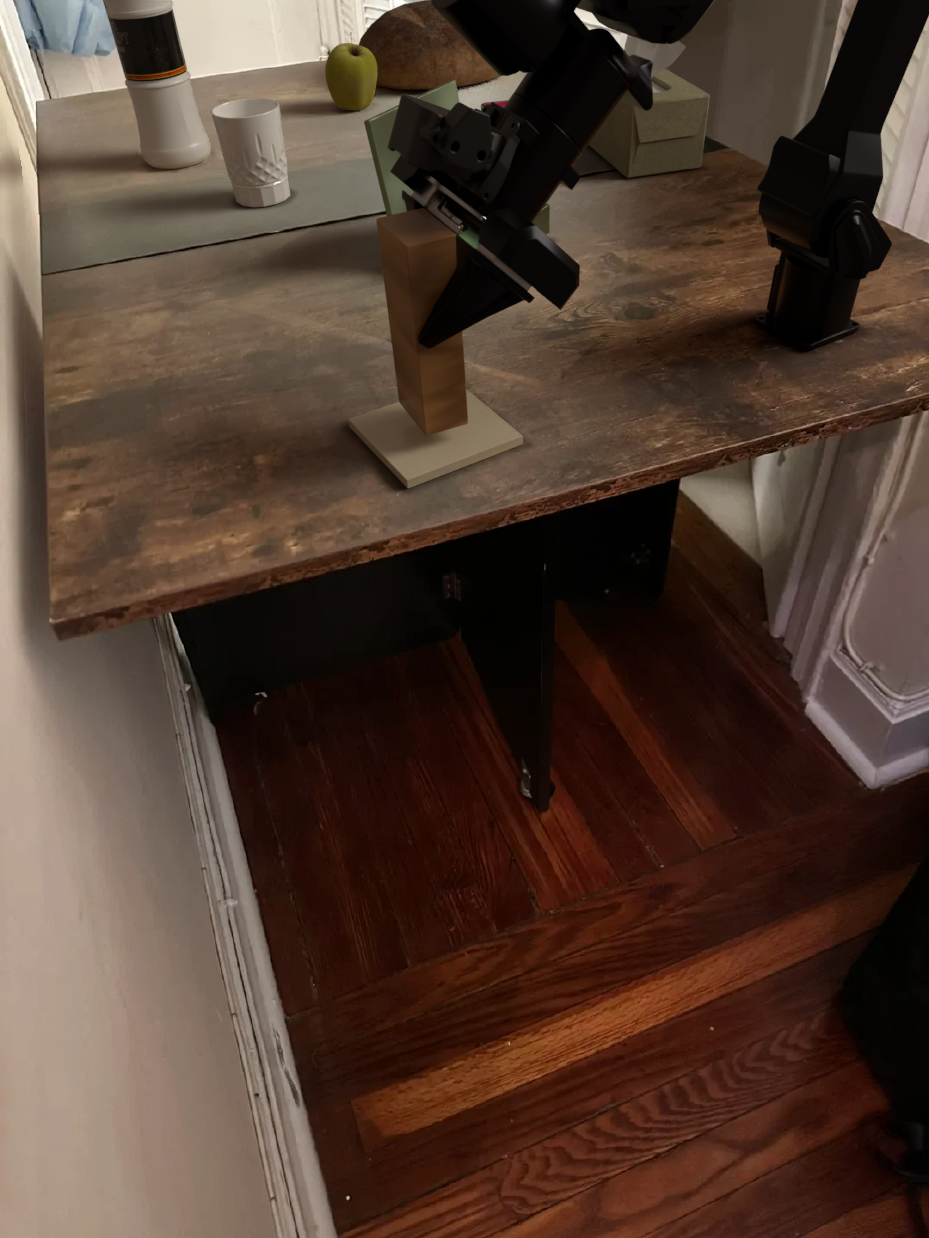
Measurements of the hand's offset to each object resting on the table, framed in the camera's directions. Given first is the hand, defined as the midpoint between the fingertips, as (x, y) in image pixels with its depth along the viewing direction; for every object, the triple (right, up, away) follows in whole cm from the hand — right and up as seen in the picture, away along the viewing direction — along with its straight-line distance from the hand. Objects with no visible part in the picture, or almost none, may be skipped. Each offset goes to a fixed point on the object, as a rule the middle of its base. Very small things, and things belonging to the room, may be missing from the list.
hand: (406, 327), depth 62 cm
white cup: (-21, +32, +47) cm, 60 cm away
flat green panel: (0, +26, +26) cm, 37 cm away
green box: (+5, +17, +30) cm, 35 cm away
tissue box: (+26, +40, +52) cm, 71 cm away
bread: (-1, +71, +85) cm, 111 cm away
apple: (-13, +58, +73) cm, 94 cm away
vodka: (-35, +43, +60) cm, 82 cm away
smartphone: (+14, +53, +66) cm, 86 cm away
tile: (+2, -6, +7) cm, 9 cm away
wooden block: (+2, -5, +5) cm, 7 cm away
